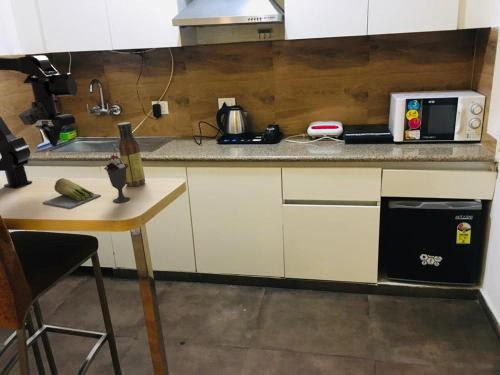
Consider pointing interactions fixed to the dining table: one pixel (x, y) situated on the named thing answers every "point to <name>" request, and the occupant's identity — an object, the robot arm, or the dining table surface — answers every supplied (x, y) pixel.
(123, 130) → the sauce bottle
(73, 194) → the fennel bulb
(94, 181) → the dining table surface
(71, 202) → the mat
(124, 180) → the sundae
